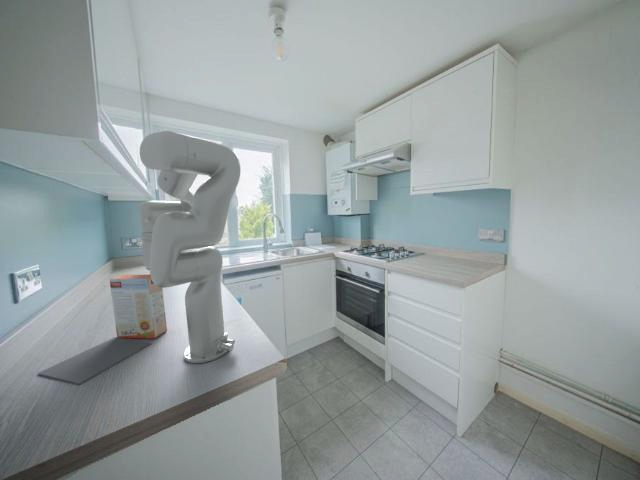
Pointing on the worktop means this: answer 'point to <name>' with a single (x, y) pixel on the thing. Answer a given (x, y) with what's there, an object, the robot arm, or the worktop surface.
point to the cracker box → (138, 307)
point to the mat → (94, 360)
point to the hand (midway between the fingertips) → (160, 285)
